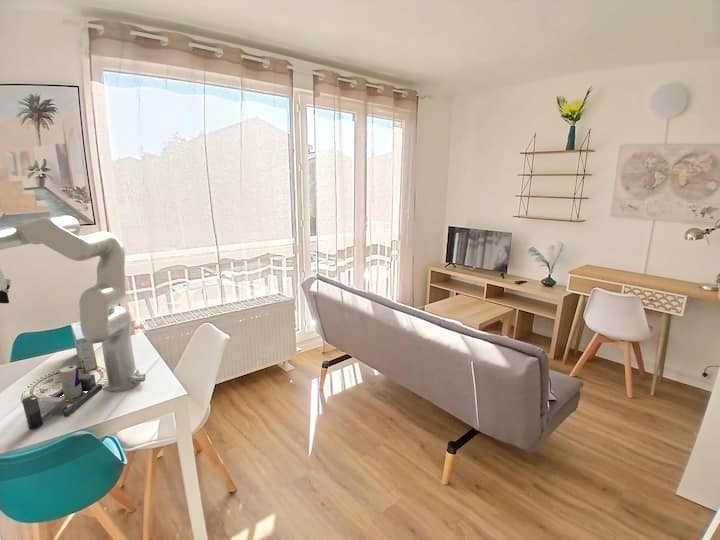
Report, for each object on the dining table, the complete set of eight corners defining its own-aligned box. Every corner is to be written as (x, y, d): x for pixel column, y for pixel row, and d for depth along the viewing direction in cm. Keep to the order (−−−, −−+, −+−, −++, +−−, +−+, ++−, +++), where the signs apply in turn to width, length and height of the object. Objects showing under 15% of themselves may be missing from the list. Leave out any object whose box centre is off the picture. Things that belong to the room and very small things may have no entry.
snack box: (75, 354, 171) (69, 323, 167) (90, 350, 175) (85, 320, 171) (82, 372, 156) (76, 339, 152) (98, 368, 160) (92, 335, 156)
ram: (68, 410, 131) (62, 384, 128) (43, 429, 121) (37, 402, 119) (45, 409, 131) (39, 384, 129) (19, 429, 121) (12, 401, 119)
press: (102, 388, 145) (99, 374, 143) (68, 416, 128) (64, 401, 127) (70, 387, 145) (67, 373, 143) (32, 416, 128) (28, 400, 127)
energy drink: (86, 393, 142) (81, 364, 139) (76, 401, 136) (70, 372, 133) (72, 393, 141) (66, 364, 138) (61, 402, 136) (55, 372, 133)
